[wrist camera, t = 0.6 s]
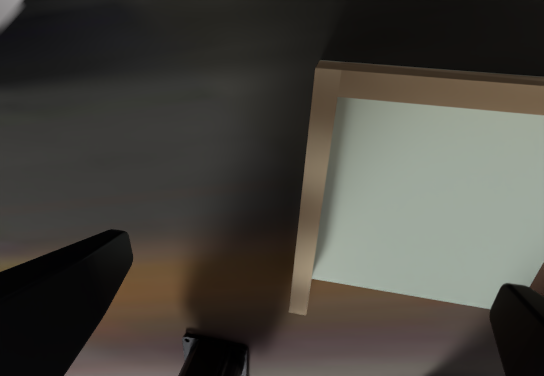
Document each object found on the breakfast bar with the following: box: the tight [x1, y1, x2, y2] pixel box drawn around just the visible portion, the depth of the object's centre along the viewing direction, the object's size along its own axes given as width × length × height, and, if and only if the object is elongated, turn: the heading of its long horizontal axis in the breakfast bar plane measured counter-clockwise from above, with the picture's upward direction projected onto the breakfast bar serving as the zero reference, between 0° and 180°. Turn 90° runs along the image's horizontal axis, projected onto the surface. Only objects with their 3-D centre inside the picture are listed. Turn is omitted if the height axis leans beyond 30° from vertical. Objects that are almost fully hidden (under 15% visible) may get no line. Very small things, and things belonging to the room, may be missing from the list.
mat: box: [312, 60, 544, 309], centre depth 21 cm, size 16×16×1 cm
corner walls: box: [289, 61, 544, 315], centre depth 19 cm, size 16×16×4 cm
